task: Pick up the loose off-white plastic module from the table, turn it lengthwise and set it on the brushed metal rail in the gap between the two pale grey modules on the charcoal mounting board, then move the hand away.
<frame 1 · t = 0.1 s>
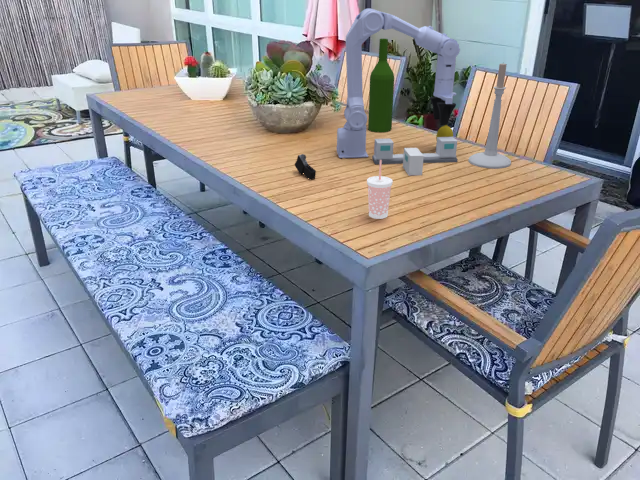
hand: (440, 122, 172), 10 cm above the table, tool pointing down, fingers open, 7 cm apart
beverage cup: (378, 215, 130), on the table
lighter: (305, 176, 157), on the table
candlestick: (489, 162, 167), on the table
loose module: (412, 171, 160), on the table
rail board: (414, 160, 169), on the table
lemon: (443, 148, 181), on the table
wine bottle: (379, 130, 204), on the table
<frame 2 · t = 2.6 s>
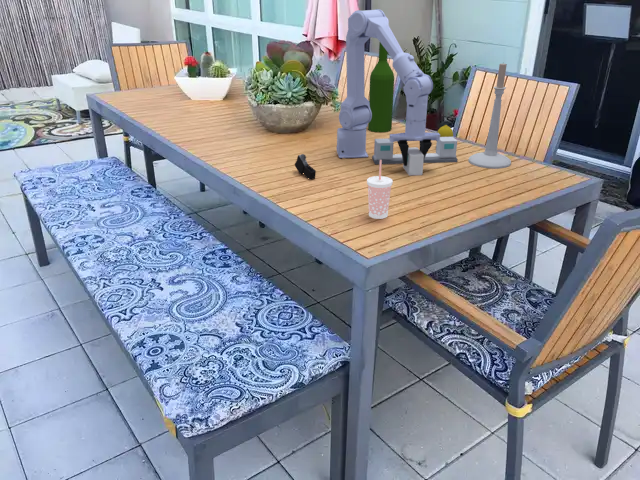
hand: (412, 164, 159), 2 cm above the table, tool pointing down, fingers closed on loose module, 4 cm apart
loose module: (412, 170, 160), on the table, touching gripper
everything else where it was.
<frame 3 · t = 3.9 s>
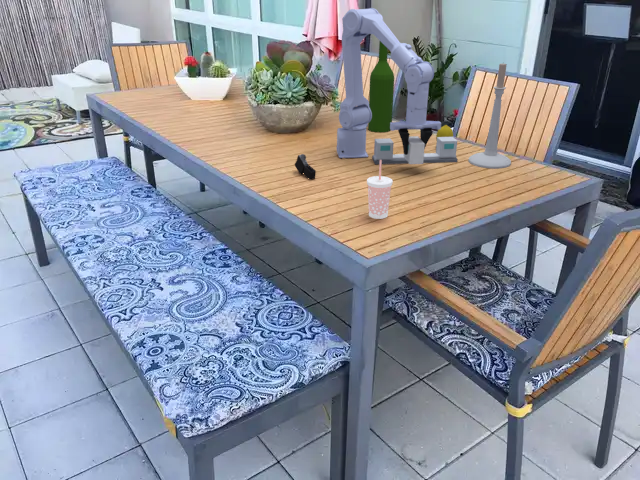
hand: (413, 153, 158), 5 cm above the table, tool pointing down, fingers closed on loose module, 4 cm apart
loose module: (413, 159, 159), point 3 cm above the table, touching gripper
everything else where it was.
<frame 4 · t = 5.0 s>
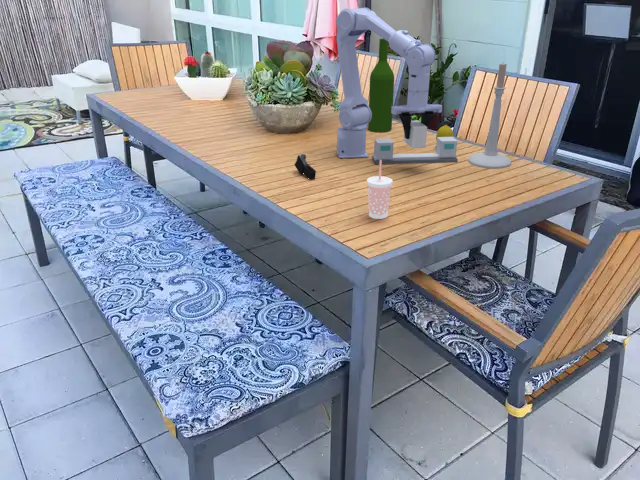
hand: (414, 137, 156), 10 cm above the table, tool pointing down, fingers closed on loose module, 4 cm apart
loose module: (414, 144, 157), point 8 cm above the table, touching gripper
everything else where it was.
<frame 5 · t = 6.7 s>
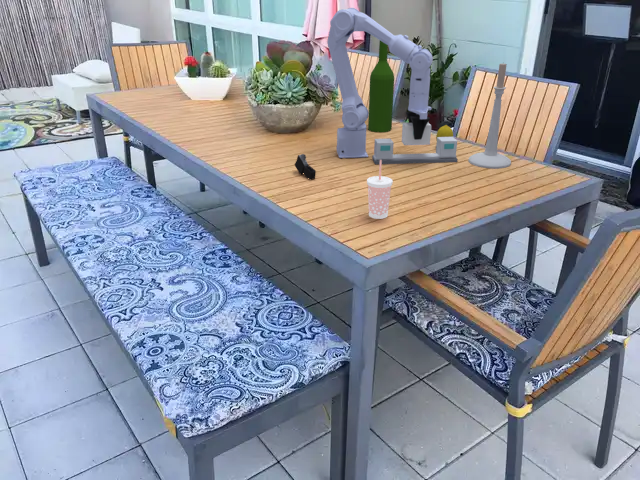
hand: (416, 137, 166), 7 cm above the table, tool pointing down, fingers closed on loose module, 4 cm apart
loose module: (415, 143, 167), point 6 cm above the table, touching gripper
everything else where it was.
when the fingers open (5 cm above the table, at t = 7.7 s): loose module drops 1 cm, resting on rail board.
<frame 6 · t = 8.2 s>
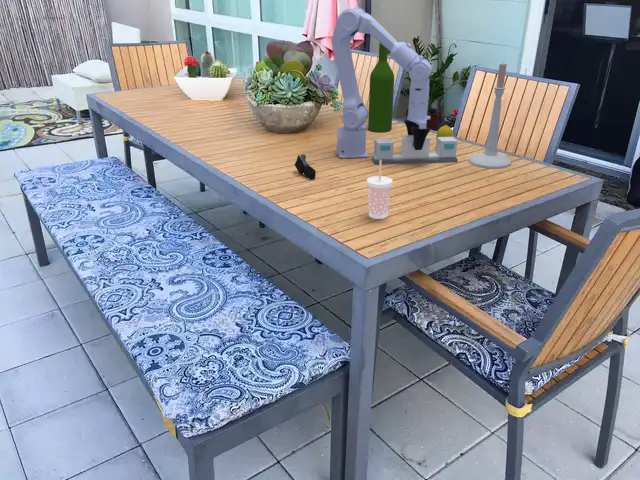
hand: (415, 146, 167), 5 cm above the table, tool pointing down, fingers open, 7 cm apart
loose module: (414, 155, 168), point 2 cm above the table, touching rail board
everything else where it was.
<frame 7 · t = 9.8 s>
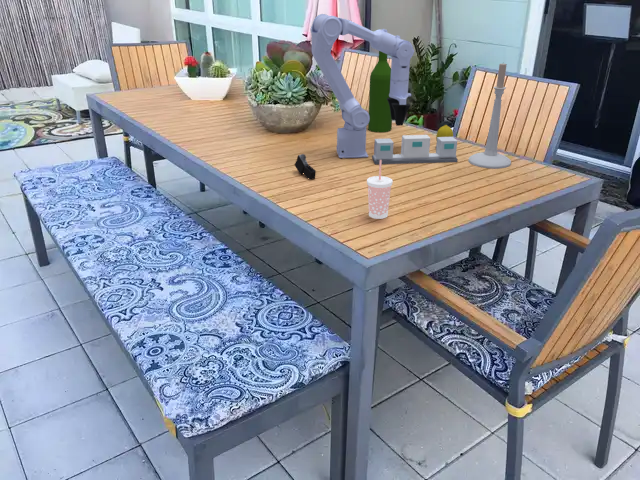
hand: (397, 122, 175), 9 cm above the table, tool pointing down, fingers open, 7 cm apart
nothing on the table moved.
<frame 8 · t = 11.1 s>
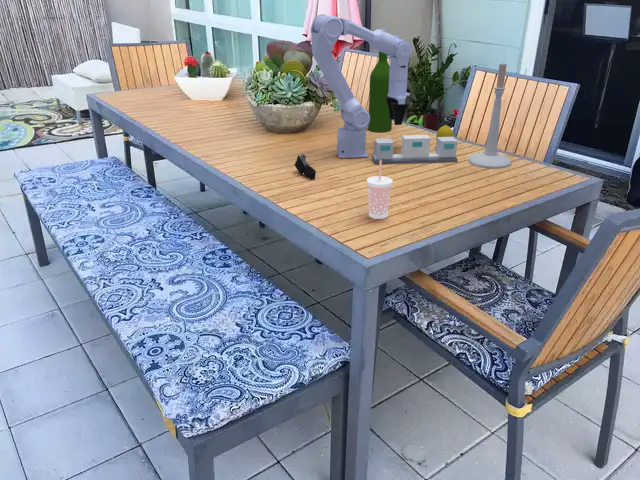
hand: (395, 122, 176), 9 cm above the table, tool pointing down, fingers open, 7 cm apart
nothing on the table moved.
at the end: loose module 0.1 cm off-centre on the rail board, point 1.6 cm above the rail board's base; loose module tilted 0°; the gripper is holding nothing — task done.
